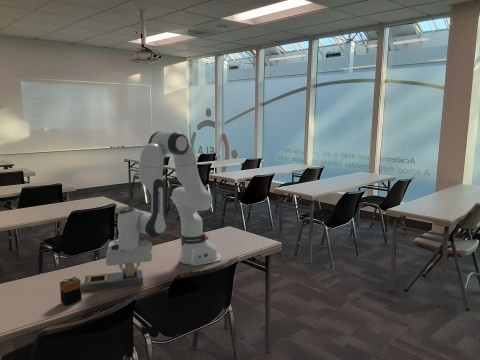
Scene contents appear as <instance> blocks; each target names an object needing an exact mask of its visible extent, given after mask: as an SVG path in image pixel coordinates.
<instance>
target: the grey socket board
mask: <svg viewBox="0 0 480 360" xmlns="http://www.w3.org/2000/svg"><path fill="white" fill-rule="evenodd" d="M141 285H144V276H143V269H138V272H135V277H134V278H126V275H125V273H122V271H120V272H119V271H118V272H111V273H99V274H93V275H85V277H84V281H83V292H84V293H85V292H92V291H100V290H102V291H103V290H108V289H110V290H111V289H117V288H124V287H133V286H141Z"/></svg>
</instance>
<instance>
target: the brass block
mask: <svg viewBox="0 0 480 360" xmlns="http://www.w3.org/2000/svg"><path fill="white" fill-rule="evenodd" d="M134 267H135V263H125V264H124V268H125V275H126V278H134V277H135V271H134Z"/></svg>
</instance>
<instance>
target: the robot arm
mask: <svg viewBox="0 0 480 360" xmlns="http://www.w3.org/2000/svg"><path fill="white" fill-rule="evenodd" d="M167 155H172V157H173V161H174V169H175V175H176V178H177V180H178V182H179V183H180V184H181V185H182V186H178V187H175V188H174V189H173V190H172V192H171V201H172V202H173V204H174V205H175V206H176V209H177V211H178V214H179V217H180V218H179V219H180V227H181V229H180V230H181V234H180V245H181V247H180V248H181V249H180V254H179V259H178V260H179V262H180V263H182V264H186V265H190V266H193V267H195V266H201V265H206V264H208V265H209V264H212V263H216V262H217V263H218V262H221V261H222V256H221V254H220V253H219V252H218V251H217V248H216V246H215V245H214V244H213V243H212V242H210V241H208V239H209V235H207V234H206V233H205V232H203V219H202V217H201V216H200V213H198V212H199V211H201V212H202V211H208V210H209V209H210V208H211V206H212V205H213V196H212V194H211V193H210V192H209V191H208V189H206V187H205V186H204V184H203V182H202V179H201V176H200V173H199V168H198V164H197V158H196V154H195V151H194V147H193V145H192V144H191V142H190V141H189V139H188V138H187V136H186V134H184V133H182V132H179V131H171V130H167V131H156V132H154V133H152V134H151V136H150V137H149V140H148V142H147V144H145V145H144V146H143V147H142V151H141V154H140V158H139V164H138V169H137V170H138V172H137V174H138V179H139V180H138V181H139V182H140V183H141V184H142V185H143V186H144V187H145V188H146V189H147V190H148V191H149V193H150V198H151V208H150V210H151V212H148V211H145V210H144V211H143V210H141V209H137V208H136V207H134V206H129V207H124V208H122V209H121V210H119V212H118V213H117V230H118V236H117V237H118V238H117V239H114V240H112V241H110V242H109V243H108V246H107V247H108V249H107V251H106V257H105V265H106V266H118V267H119V268H120V270H121V272H122V273H125V267H123V265H125V263H134V264H136V266H134V271H135V272H138V270H139V267H140V264H141V263H146V262H151V261H152V260H153V256H152V250H153V243H152V242H149V240H148V241H139V239H140V238H139V234H141V233H143V234H145V235H147V236H149V237H150V238H153V239H156V238H160V237H161V236H163V235H164V233H165V232H166V230H167V228H168V221H167V217H166V185H165V183H164V162H165V161H164V159H165V157H166V156H167Z"/></svg>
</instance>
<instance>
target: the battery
mask: <svg viewBox="0 0 480 360" xmlns="http://www.w3.org/2000/svg"><path fill="white" fill-rule="evenodd" d="M81 282H82V281H81V279H80V278H78V277H77V276H73V277H71V278H65V279H62V281H59V289H60V290H59V291H60V292H59V293H60V302H61V304H63V305H64V306H66V305H67V306H69V305H71V304H75V303H77V302H80V301H82V298H83V297H82V286H81V285H82V284H81Z"/></svg>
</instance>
